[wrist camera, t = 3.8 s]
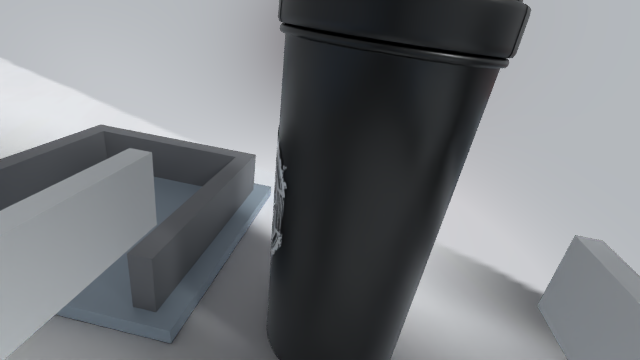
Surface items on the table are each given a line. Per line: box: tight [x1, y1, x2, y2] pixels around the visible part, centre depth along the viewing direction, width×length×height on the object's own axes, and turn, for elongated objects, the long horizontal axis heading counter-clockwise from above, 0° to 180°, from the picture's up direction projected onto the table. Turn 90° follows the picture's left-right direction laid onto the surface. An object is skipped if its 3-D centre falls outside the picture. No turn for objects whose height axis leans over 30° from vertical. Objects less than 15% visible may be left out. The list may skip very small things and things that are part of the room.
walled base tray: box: [0, 125, 271, 343], centre depth 29 cm, size 20×20×5 cm
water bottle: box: [267, 0, 531, 360], centre depth 18 cm, size 10×10×23 cm
